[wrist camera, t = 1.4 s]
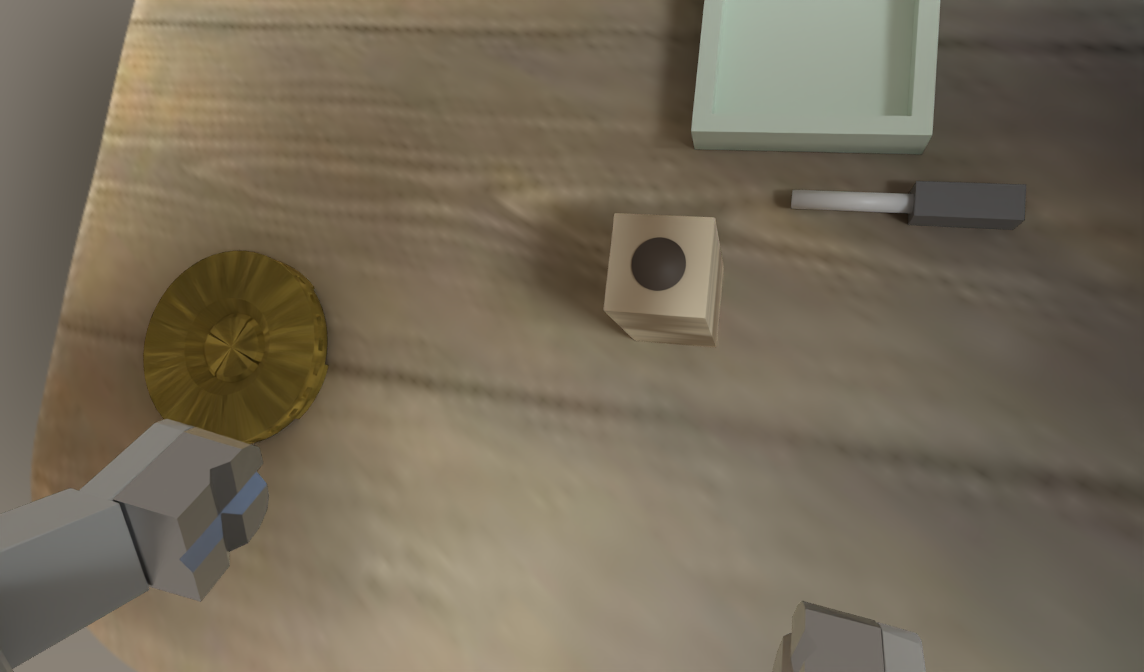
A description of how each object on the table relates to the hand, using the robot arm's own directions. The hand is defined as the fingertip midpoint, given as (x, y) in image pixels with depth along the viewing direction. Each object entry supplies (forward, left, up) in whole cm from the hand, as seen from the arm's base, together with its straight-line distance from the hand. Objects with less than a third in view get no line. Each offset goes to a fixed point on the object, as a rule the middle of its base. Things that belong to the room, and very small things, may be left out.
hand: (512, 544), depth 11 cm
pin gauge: (-10, -16, -31) cm, 36 cm away
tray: (-4, -25, -31) cm, 40 cm away
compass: (+29, -5, -31) cm, 43 cm away
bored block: (+2, -10, -31) cm, 32 cm away
